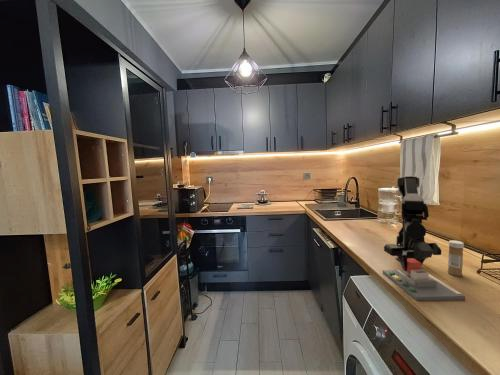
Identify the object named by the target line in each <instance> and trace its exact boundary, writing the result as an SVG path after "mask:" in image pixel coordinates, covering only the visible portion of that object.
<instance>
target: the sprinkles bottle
mask: <svg viewBox="0 0 500 375" xmlns="http://www.w3.org/2000/svg"><path fill="white" fill-rule="evenodd" d="M464 248H465V243H464V242H463V241H460V240H453V239H452V240H449V241H448V259H447V260H448V261H447V265H448V267H447V273H448V274H449V275H451V276H455V277H461V276H463V266H464V265H463V264H464V260H463V259H464V258H463V257H464Z"/></svg>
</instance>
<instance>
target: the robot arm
mask: <svg viewBox="0 0 500 375" xmlns="http://www.w3.org/2000/svg"><path fill="white" fill-rule="evenodd" d="M419 187H420V178H419V177H417V176H415V175H403V176H402V177H399V178H397V180H396V188H398V192H399V195H401V197H402V198H401V200H402V202H401V203H400V209H401V210H400V211H401V219H402V220H401V224H402V225H401V228H400V230H399V231H398V232H397V235H396V241H395V243H393V244H392V243H389V244H387V243H386V244H385V245H384V246H383V250H384V251H383V252H386V253H387V254H388V255H390V256H392V257H395V260H397V261H399V263H400V265H401V268H402V267H403V269H404V271H407V259H408V258H414V259H416V260H417V261H419V262H421V267H422V265H423V263H424V262H425V261H426V260H427V259H428V258H432V256H442V249H441V247H440V246H439V245H438V244H437V243H436V242H430V243H429V242H426V241H425V236H426V234H427V229H426V227H425V226H424V224H423V221H428V218H429V208H428V205H427V203H426V202H425V201H424V198H423V197H422V196H420V195H419V191H418V188H419ZM403 269H402V270H403Z"/></svg>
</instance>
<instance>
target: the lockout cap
mask: <svg viewBox="0 0 500 375" xmlns="http://www.w3.org/2000/svg"><path fill="white" fill-rule="evenodd" d="M418 269H422V266H421V262H419V261H417V260H416V259H414V258H408V259H407V271H406V272H407V273H408V274H411V270H418ZM401 270H404V269H403V267H402V266H401Z"/></svg>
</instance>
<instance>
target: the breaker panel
mask: <svg viewBox="0 0 500 375" xmlns="http://www.w3.org/2000/svg"><path fill="white" fill-rule="evenodd" d="M382 274H383V275H384V276H386V277H387V278H388V279H390V281H392V282H393V283H394V284H395V285H396V286H398V287H399V288H400V289H401V290H403V291H404V292H405V293H406V294H408V295H409V296H410V297H411V298H413V299H414V300H415V301H446V300H447V301H454V300H455V301H456V300H459V301H461V300H463V301H464V300H466V296H465V295H464V294H462V293H461V292H460V291H457V290H456V289H455V288H453V287H452V286H450V285H449V284H447V283H444V282H443V281H441V280H440V279H438V278H436V277H435V276H433V275H432V274H430V273H429V275H428V280H415V281H414V280H412V279H411V274H408V273H407V272H406V271H404V270H403V269H386V270H385V269H383V270H382Z"/></svg>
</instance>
